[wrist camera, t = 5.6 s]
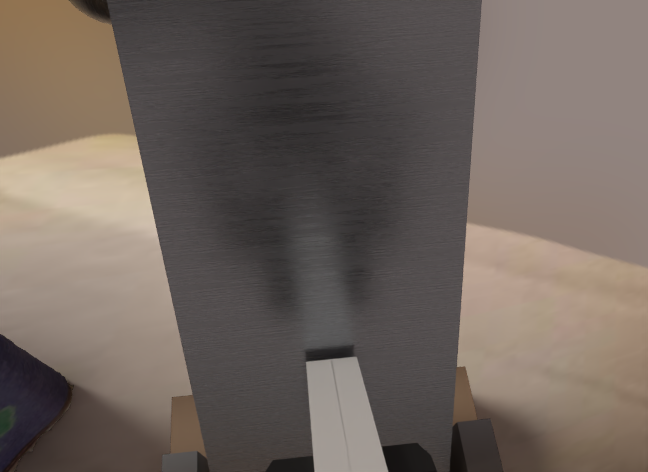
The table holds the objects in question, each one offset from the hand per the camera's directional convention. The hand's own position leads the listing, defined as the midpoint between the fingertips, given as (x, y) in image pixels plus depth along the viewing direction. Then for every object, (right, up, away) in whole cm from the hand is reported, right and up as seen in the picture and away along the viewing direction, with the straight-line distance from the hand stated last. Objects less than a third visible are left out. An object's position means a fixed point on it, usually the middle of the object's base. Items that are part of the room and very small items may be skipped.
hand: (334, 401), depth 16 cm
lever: (0, -5, +5) cm, 7 cm away
